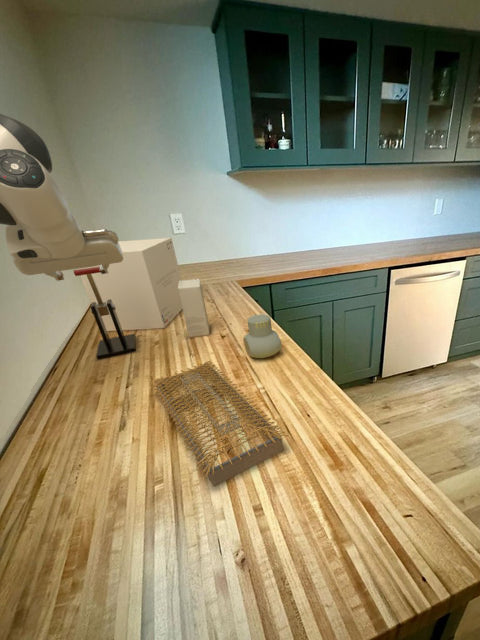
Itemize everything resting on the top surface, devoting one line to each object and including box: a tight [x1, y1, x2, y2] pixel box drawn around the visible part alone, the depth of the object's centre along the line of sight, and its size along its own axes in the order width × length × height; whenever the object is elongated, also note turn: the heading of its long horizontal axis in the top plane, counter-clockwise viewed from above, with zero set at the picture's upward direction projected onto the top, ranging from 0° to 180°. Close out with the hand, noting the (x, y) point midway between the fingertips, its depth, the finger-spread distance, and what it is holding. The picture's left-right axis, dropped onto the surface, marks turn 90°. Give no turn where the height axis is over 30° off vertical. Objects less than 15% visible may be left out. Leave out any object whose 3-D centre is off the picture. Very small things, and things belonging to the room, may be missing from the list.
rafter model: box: [148, 360, 290, 487], centre depth 65 cm, size 35×14×6 cm, turn 34°
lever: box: [73, 267, 109, 316], centre depth 91 cm, size 13×6×2 cm
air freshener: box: [242, 313, 282, 359], centre depth 88 cm, size 11×8×10 cm
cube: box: [76, 237, 183, 332], centre depth 117 cm, size 25×21×24 cm
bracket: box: [90, 299, 137, 361], centre depth 97 cm, size 12×10×14 cm
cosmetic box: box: [178, 278, 210, 338], centre depth 103 cm, size 8×7×16 cm
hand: (82, 274), depth 80 cm, fingers open, 8 cm apart
